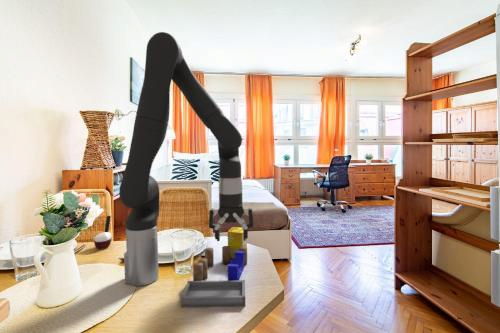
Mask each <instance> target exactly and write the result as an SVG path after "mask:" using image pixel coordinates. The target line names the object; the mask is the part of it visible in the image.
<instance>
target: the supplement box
mask: <svg viewBox="0 0 500 333" xmlns="http://www.w3.org/2000/svg"><path fill="white" fill-rule="evenodd" d="M247 241H248V238H247V239H246V241H244V239H243V227H241V226H240V227H238V226H232V227H231V228H230V229H229V230H228V231H227V246H230V247H231V259H235V251H239V247H241V246H246V247H247V248H248V242H247Z"/></svg>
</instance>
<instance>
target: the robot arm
mask: <svg viewBox="0 0 500 333" xmlns="http://www.w3.org/2000/svg"><path fill="white" fill-rule="evenodd" d="M145 51H146V52H145V66H144V78H143V83H142V88H141V91H140V95H139V101H138V104H137V109H136V113H135V114H136V115H135V119H134V124H133V131H132V137H131V141H130V147H129V152H128V158H127V162H126V165H125V169H124V172H123V175H122V179H121V182H120V185H119V191H118V192H119V199H120V201H121V203H122V205H123V206H125V207H127V208H129V209H131V210H130V212H129V214H128V216H127V217H126V219H125V239H126V240H125V244H126V246H125V247H126V250H125V252H124V253H123V259H124V261H123V263H124V284H129V285H131V286H136V287H138V286H139V287H140V286H147V285H150V284H151V283H152V284H153V282H154V283H155V281H157V280H158V278H159V276H160V275H159V249H158V248H159V246H158V242H159V241H158V239H159V238H158V218H159V215H160V187H159V184H158V182H157V180H156V179H155V177H153V176H152V175H151V170H152V166H153V163H154V160H155V159H156V156H157V155H158V153H159V152H160V149H161V148H162V145H163V144H164V141H165V138H166V135H167V131H168V125H169V121H170V107H171V106H170V105H171V104H170V103H171V102H170V97H171V96H170V92H171V83H172V82H173V83H174V84H175V86H176V87H177V88H178V89H179V91H181V93H182V95H184V98H185V99H186V101H187V103H188V104H189V106H190V107H191V109H192V110H193V112H194V113H195V114H196V116H197V117H198V118H199V120H200V121H201V122H202V124H203V125H204V126H205V127H206V128H207V129H209V131H210V132H211V133H212V135H213V137H214V138H215V140H217V150H218V157H219V158H218V162H219V164H218V172H219V174H218V176H219V180H218V206H219V208H218V209H214V208H210V209H209V212H208V213H209V214H208V215H209V216H208V217H209V218H208V228H209V229H212V230H213V231H214V238H215V240H216V242H220V240H221V237H220V236H221V235H220V233H221V232H220V230H221V229H220V227H221V226H222V225H223V224H224V223H226V224H230V223H234V224H236V223H237V222H238V223H239V225H240V226H241V228H243V239H244V241H246V239H247V240H248V238H249V236H248V235H249V234H248V232H249V229H250V228H252V229H253V227H254V219H253V218H254V216H253V208H252V207H249V208H244V207H243V181H242V180H243V179H242V162H241V161H240V155H239V153H240V152H239V151H240V150H239V149H240V147H241V145H242V143H243V138H242V134H241V133H240V131H239V130H238V128H237V127H236V126H235V125H234V124H233V123H232V121H231V120H230V119H229V118H228V117H227V116H226V115H225V113H224V112H223V110H222V109H221V107H220V105H219V104H218V103H217V101H215V99H214V98H213V97H212V95H211V94H210V93H209V91H208V90H207V89H206V88H205V87H204V86H203V85H202V84H201V82H200V81H199V79H197V77H196V76H195V75H194V73H193V72H192V70H191V68H190V67H189V64H188V63H187V61H186V59H185V58H184V55H183V51H182V49H181V46H180V44H179V42H178V41H177V39H176V38H175V37H174V36H173V35H172V34H170V33H168V32H165V31H160V32H159V31H158V32H156V33H155V34H153V35H152V36H151V37H150V39H149V40H148V41H147V44H146V50H145ZM217 214H218V216H219V217H220V219H219V220H218V221H217V223H216V224H215V223H214V220H215V217H216V215H217ZM244 214H245V215H246V216H248V221H249V222H248V223H247V222H246V221H245V219H244V218H243V215H244Z"/></svg>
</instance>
